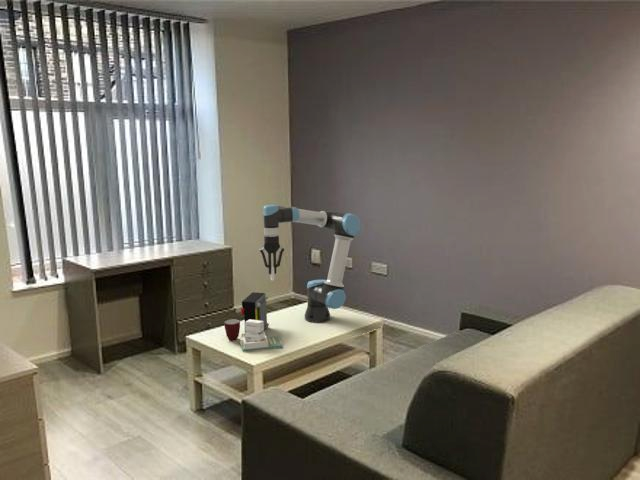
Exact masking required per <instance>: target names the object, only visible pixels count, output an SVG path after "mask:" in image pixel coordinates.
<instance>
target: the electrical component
mask: <svg viewBox="0 0 640 480" xmlns="http://www.w3.org/2000/svg"><path fill="white" fill-rule="evenodd" d="M267 300H269V296H268V295H267V294H266V293H265V292H254V291H252V292H251V293H250V294H249V295H248V296H246V297H245V298H244V299H243V300H242V301H241V307H242V308H240V311H241V314H242V316H244V323H245V322H246V321H247V320H249V319H251V320H259V321H264V331H265V330H266V329H267V328H269V326H270V324H269V322H268V315H267V313H268V312H267V310H268V309H267Z"/></svg>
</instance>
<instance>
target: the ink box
mask: <svg viewBox="0 0 640 480" xmlns="http://www.w3.org/2000/svg"><path fill="white" fill-rule="evenodd" d="M264 332H265V330H264V321H259V320H251V319H249V320H247V321H246V322H245V321H244V334H245V335H246V343H249V342H259V341H264Z"/></svg>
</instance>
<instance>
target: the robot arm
mask: <svg viewBox="0 0 640 480" xmlns="http://www.w3.org/2000/svg"><path fill="white" fill-rule="evenodd" d="M262 214H263V234H264V236H263V242H264V244H263V247H262V248H259V252H260V254H261V257H262V259H263V263H264V266H265V268H268V274H269V275H270V280H271V281H272V282H273V281H275V275H276V274H277V268H278V267H280V266H281V261H282V258H283V253H284V251H285V248H284V247H282V246H281V245H280V237H279V234H280V232H279V231H280V230H279V227H280V224H282V223H283V224H284V223H299V224H307V225H314V226H318V227H319V228H323V229H327V230H329V231H333V236H334V238H335V240H334V245H333V248H332V249H333V250H332V254H331V260H330V264H329V269H328V273H327V279H314V280H310V281H308V282H307V285H306V289H307V290H306V291H307V293H306V294H307V305H306V306H307V307H306V310H305V313H304V320H305V321H307V322H310V323H314V324H315V323H317V324H318V323H326V322H328V321H329V320H331V313H330V309H331V310H336V309H340V308H341V307H342V306H343V305H344V304H345V302H346V298H347V295H346V292H345V291H344V289H345V288H344V287H345V285H344V284H343V279H344V274H345V269H346V267H347V266H346V265H347V261H348V260H347V259H348V255H349V251H350V246H351V242H352V241H353V240H354V239H355V236H356V235H358V233H360V231H361V226H362V225H361V221H360V218H359V216H358V215H355V214H354V213H349V212H342V211H336V210H335V211H334V210H333V211H331V210H330V211H328V210H327V211H326V210H321V211H315V210H308V209H301V208H298V207H296V206H290V207H289V206H283V205H282V206H281V205H277V204H266V205H264V206H263V213H262ZM278 250H279V253H278V257H277V252H278ZM265 251H266V253H267V258H266V255H265ZM272 261H273V262H272ZM272 263H273V264H272ZM272 265H273V266H272Z"/></svg>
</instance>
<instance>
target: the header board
mask: <svg viewBox="0 0 640 480" xmlns="http://www.w3.org/2000/svg"><path fill="white" fill-rule="evenodd" d="M239 344H240V346H241V352H243V353H245V352H254V351H262V350H274V349H282V348H283V345H282V342H281V340H280V338H279V336H278V335H275V336H274V335H273V336H267V335H266V332H265V331H264V341H259V342H249V343H246V335H245V333H241V337H240V339H239Z"/></svg>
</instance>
